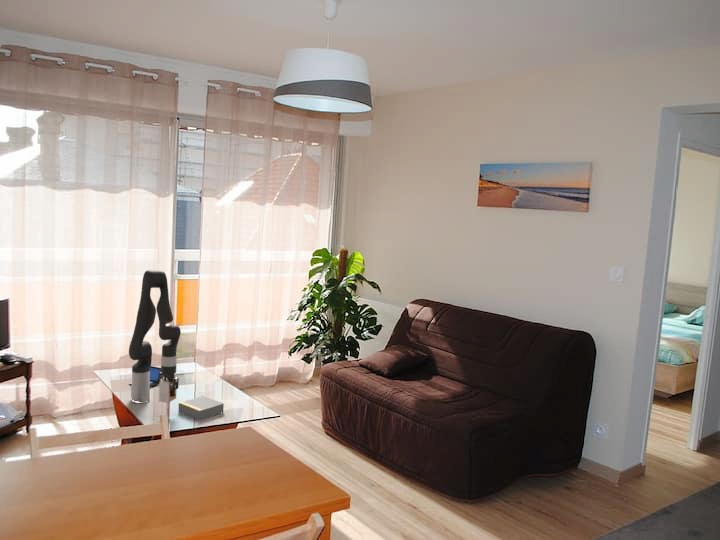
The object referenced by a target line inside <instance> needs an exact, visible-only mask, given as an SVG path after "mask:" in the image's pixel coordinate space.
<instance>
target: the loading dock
mask: <svg viewBox="0 0 720 540" xmlns="http://www.w3.org/2000/svg"><path fill="white" fill-rule="evenodd" d="M224 407H225V406H224V403H223V402H221V401H218V400H216V399H213V398H210V397H208V396H205V395H202V396H201V395H200V396H198V397H194V398H192V399H188V400H185V401H178V413H180V414H182V415H185V416H187V417H189V418H192V419H194V420H197V421H202V420H205V419H208V418H211V417H213V416H217V415H219V413H220V414H222V413H221V412H223V413H224ZM216 414H217V415H216Z"/></svg>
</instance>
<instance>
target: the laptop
mask: <svg viewBox="0 0 720 540" xmlns="http://www.w3.org/2000/svg"><path fill="white" fill-rule="evenodd" d="M160 372H161V367H158V366H152V365H151V367H150V387H152V388H154V387H157V386H159V383H158V380H159V373H160Z"/></svg>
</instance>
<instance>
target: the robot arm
mask: <svg viewBox="0 0 720 540" xmlns="http://www.w3.org/2000/svg"><path fill="white" fill-rule="evenodd" d="M141 282H142V283H141V292H140V301H139V306H138V310H137V315H136V318H135V319H136V320H135V321H136V322H135V326H134V331H133V333H132V336H131V340H130V344H129V347H128V356H129V359H131V360H132V361H136V362H135V363H134V364H133V365H132V366H131V381H132V384H131V386H130V397H131V398H132V400H134V401H139V402H146V401H148V402H150V395H151V394H150V389H151V388H150V367H151V366H152V362H153V361H152V359H153V347H152V344H151V343H150V342H149V341H147V340H144V339H145V337H146V335H147V333H148V332H149V331H150V330H151V328H152V327H153V325H154V324H155V321H156V320H155V319H156V315H157V318H158V336H159V338H160V339H161V340H162V341H168V342H167V343H164V344H162V348H161V359H160V361H161V363H160V364H161V365H160V368H161V372H160V373H159V380H158V383H159V384H160V382H161V381H164V380H165V381H167V382H169V383H170V382H173V384H170V389H171V390H170V397H174V396H175V389H177V390H178V389H179V380H180V379H179V377H175V374H176V373H177V359H178V358H177V347H178V343H179V340H180V337H181V332H182V331H181V329H180V327H179V326H178V325H176V324H175V325H167V324H169V323H170V324H171V323H172V322H173V321H174V316H173V312H172V308H171V303H170V297H169V294H170V293H169V287H168V286H169V285H168V277H167V274H166V272H165V271H164V270H155V269H154V270H150V269H149V270H146V271H145V272H144V273H143V276H142V281H141ZM152 289H159V291H160V295H159V299H158V302H157V303H156V304H157V305H156V306H155V304H154V302H153V299H152V296H151V292H152ZM172 385H173V388H172ZM175 385H176V386H175ZM131 398H130V399H131ZM132 400H131V401H132ZM146 403H147V402H146Z"/></svg>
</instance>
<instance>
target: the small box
mask: <svg viewBox="0 0 720 540" xmlns="http://www.w3.org/2000/svg"><path fill="white" fill-rule="evenodd" d="M170 384H173V382H170V383H169V382H167V381H165V380H164V381H162V380H161V382H160V384H159V385H158V387H159V389H158V390H159V391H158V393H159V394H158V395H159V396H158V402H159V403H166V404H170V403H171V402H172V401H174V400H176V399H177V391H178V389H175V396H174V397H170V390H171V389H170ZM175 386H176V385H175ZM172 388H173V385H172Z"/></svg>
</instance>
